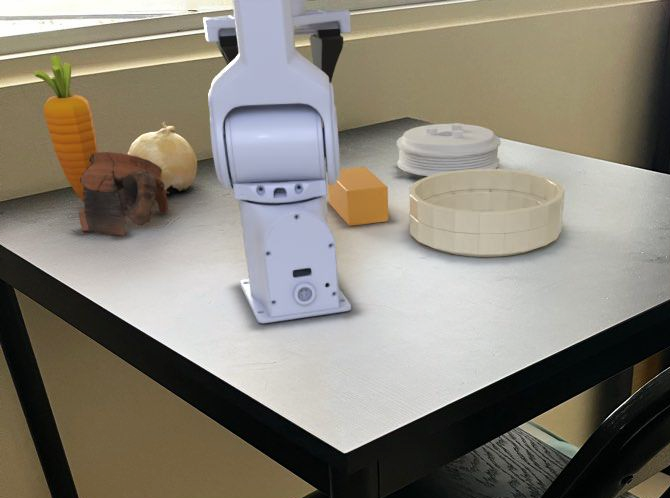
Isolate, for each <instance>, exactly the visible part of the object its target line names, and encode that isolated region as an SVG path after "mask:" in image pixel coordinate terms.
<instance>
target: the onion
mask: <svg viewBox="0 0 670 498" xmlns="http://www.w3.org/2000/svg"><path fill="white" fill-rule="evenodd" d="M161 125H162V127H163V128H160V129H159V130H158V131H151V132H146V133H143V134H141V135H140V136H139V137H137V138H136V139H135V140H134V141H133V142H132V143H131V145H130V147H129V148H128V151H127V154H129V155H133V156H138V157H141V158H143V159H147V160H149V161H151V162H153V163H155V164H156V165H158V166H159V167H160V168H161V169H162V174H161V180H162V182H163V183H164V190H165V193H166V196H167V195H168V194H170V191H167V190H168V189H169V188H170V187H171V188H172V189H176V190H177V191H179V192H181V191H184V190H187V189H188V188H189V187H190V186H191V185H192V183H194V181H195V178H196V176H197V172H198V158H197V155H196V153H195V150H194V149H193V147H192V146H191V144H189V142H188V141H187V139H185V138H184V137H182V136H181V135H179V134H178V133H175V132H177V129H176V127H175V126H173V125H168V126H167V125H166V121H162V122H161Z"/></svg>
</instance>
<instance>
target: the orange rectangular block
mask: <svg viewBox="0 0 670 498" xmlns="http://www.w3.org/2000/svg"><path fill="white" fill-rule="evenodd" d="M326 175H327V176H326V177H328V172H327V171H326ZM327 188H328V189H327V191H328V201H329V202H328V203H329V205H330V206H331V207H332V209H334V210H335V212H336V213H337V214H338V215H339V216H340V217H341V219H342V220H343V221H344V222H345V223H346V224H347V225H348V227H353V226H361V225H370V224H376V223H385V222H389V197H388V196H389V192H388V191H389V189H388V185H386V183H384V182H383V181H382V180H381V179H379V178H378V176H376V175H375V174H374V173H373V172H371V170H369V169H368V168H367V167H366V166H360V167H358V166H357V167H350V168H349V167H348V168H340V177H339V179H338V180H337V181H336V183H335V184H334V185H329V184H328V183H327Z"/></svg>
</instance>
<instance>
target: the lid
mask: <svg viewBox="0 0 670 498" xmlns="http://www.w3.org/2000/svg"><path fill="white" fill-rule="evenodd" d="M396 146H397V148H398V150H399V151H398V154H399V155H398V156H399V157H398V159H397V162H396V165H397V168H399V169H400V170H402V171H404V172H406V173H409V174H413V175H416V176H424V177H428V176H431V175H435V174H439V173H444V172H449V171H457V170H466V169H498V167H499V166H500V162H501V161H500V158H499V157H498V156H499V155H498V154H499V150H498V149H499V147H500V146H501V139H500V137H498V135H496V134H495V133H494V131H493V130H491V129H490V128H487V127H483V126H480V125H474V124H466V123H461V122H460V123H459V122H454V123H435V124H426V125H421V126H416V127H413V128H410V129H408V130H406V131H404V133H403V135H402V136H400V137H399V138H398V139H397V140H396Z"/></svg>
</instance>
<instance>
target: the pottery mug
mask: <svg viewBox="0 0 670 498" xmlns="http://www.w3.org/2000/svg"><path fill="white" fill-rule="evenodd" d="M89 161H90V162H91V165H90V166H89V167H87V168H86V170H85V172H84V173H83V174H82V177H81V178H80V183H81V184H82V186H83V187H84V188H83V196H84V199H83V200H84V202H83V203H84V206H83V207H82V208H81V209H78V210H79V211H78V218H79V224H80V226H81V227H80V228H81V229H80V230H81V232H91V231H92V232H93V231H94V232H97V233H102V234H110V235H115V236H116V235H117V236H125V235H126V223H127V219H128V220H129V221H130V222H131V223H132V224H134V225H136V226H137V227H141V226H145V225H147V224H149V223H151V219H152V214H153V211H152V210H153V208H154V206H155V203H156V204H157V208H158V211H159V213H160V214H161V215H164V213H166V212H167V211H168V210H169V208H168V205H169V201H168V196H167V195H166V194H167V193H165V190H164V183H163V182H162V180H161V174H162V169H161V168H160V167H159V166H158V165H156V164H155V163H153V162H151V161H149V160H147V159H143V158H141V157H138V156H133V155H129V154H128V153H122V152H114V151H98V153H95V154H92V155H91V157H90V159H89Z"/></svg>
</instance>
